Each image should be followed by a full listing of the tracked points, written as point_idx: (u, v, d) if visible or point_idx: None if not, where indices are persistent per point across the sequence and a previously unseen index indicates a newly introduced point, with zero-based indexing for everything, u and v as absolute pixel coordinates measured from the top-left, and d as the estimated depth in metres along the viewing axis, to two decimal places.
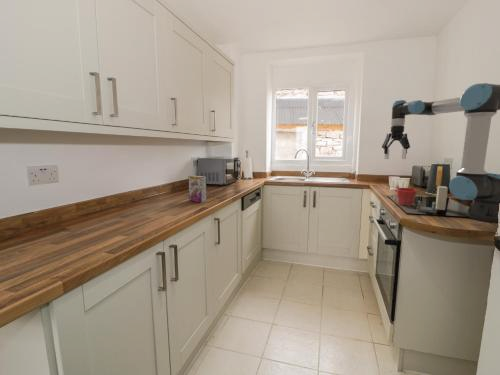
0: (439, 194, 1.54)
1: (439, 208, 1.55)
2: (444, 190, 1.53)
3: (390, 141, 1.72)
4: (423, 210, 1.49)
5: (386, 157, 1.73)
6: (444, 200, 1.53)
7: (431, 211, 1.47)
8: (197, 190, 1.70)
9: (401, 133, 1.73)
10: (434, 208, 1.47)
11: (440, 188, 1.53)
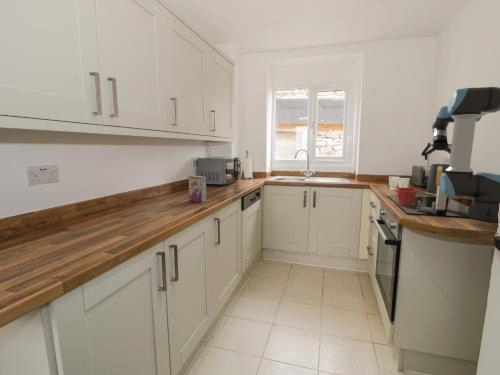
0: (439, 194, 1.54)
1: (439, 208, 1.55)
2: None
3: None
4: (423, 210, 1.49)
5: (427, 161, 1.66)
6: (444, 200, 1.53)
7: (431, 211, 1.47)
8: (197, 190, 1.70)
9: (445, 143, 1.69)
10: (434, 208, 1.47)
11: None
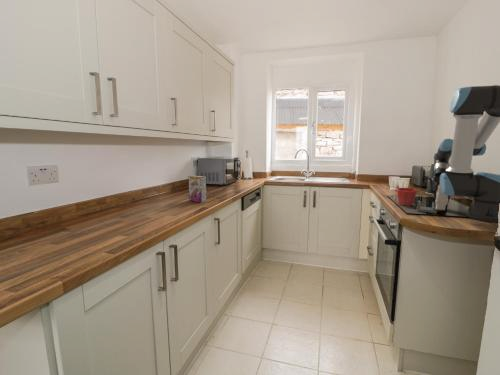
0: (439, 194, 1.54)
1: (439, 208, 1.55)
2: None
3: None
4: (423, 210, 1.49)
5: (436, 200, 1.55)
6: (444, 200, 1.53)
7: (431, 211, 1.47)
8: (197, 190, 1.70)
9: None
10: (434, 208, 1.47)
11: (440, 188, 1.53)
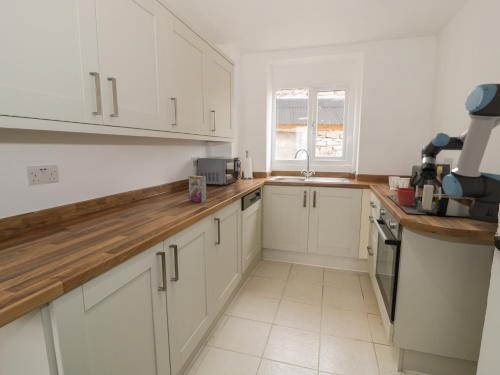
0: (424, 193, 1.48)
1: (425, 208, 1.49)
2: (430, 189, 1.47)
3: (419, 179, 1.55)
4: (423, 210, 1.49)
5: None
6: (430, 199, 1.48)
7: (431, 211, 1.47)
8: (197, 190, 1.70)
9: (434, 171, 1.55)
10: (434, 208, 1.47)
11: (426, 187, 1.48)
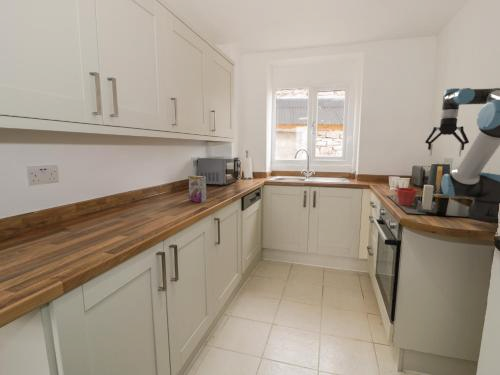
0: (424, 193, 1.48)
1: (425, 208, 1.49)
2: (430, 189, 1.47)
3: (436, 136, 1.55)
4: (423, 210, 1.49)
5: None
6: (430, 199, 1.48)
7: (431, 211, 1.47)
8: (197, 190, 1.70)
9: (453, 126, 1.50)
10: (434, 208, 1.47)
11: (426, 187, 1.48)
